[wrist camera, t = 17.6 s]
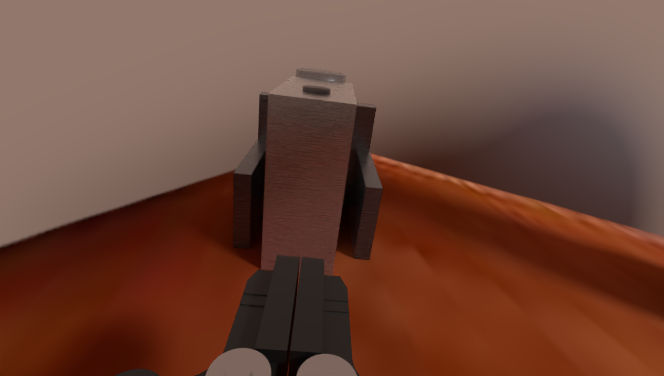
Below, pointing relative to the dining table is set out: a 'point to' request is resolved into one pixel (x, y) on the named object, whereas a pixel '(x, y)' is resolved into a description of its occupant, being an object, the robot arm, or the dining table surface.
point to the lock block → (306, 168)
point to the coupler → (359, 186)
